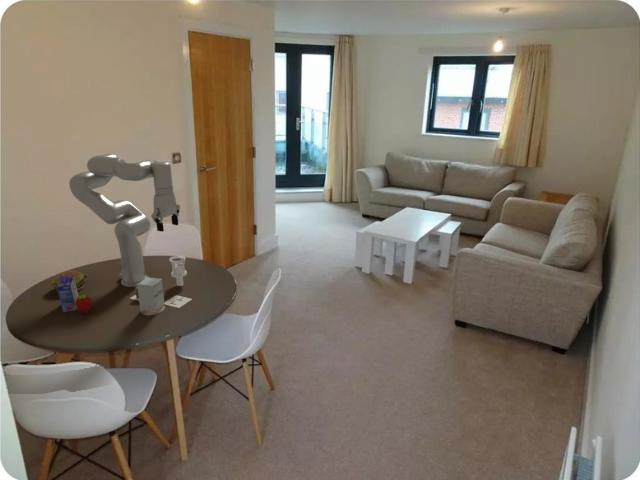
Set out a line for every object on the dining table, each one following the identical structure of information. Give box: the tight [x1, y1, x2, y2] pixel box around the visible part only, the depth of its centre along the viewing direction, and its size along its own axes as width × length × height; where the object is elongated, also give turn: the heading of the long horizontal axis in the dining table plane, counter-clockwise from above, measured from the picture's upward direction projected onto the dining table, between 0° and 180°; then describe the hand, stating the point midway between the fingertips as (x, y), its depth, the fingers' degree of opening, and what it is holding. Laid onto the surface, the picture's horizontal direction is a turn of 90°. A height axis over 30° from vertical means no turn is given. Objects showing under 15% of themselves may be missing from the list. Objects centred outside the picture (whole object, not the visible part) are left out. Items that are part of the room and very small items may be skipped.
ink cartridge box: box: [57, 275, 79, 313], centre depth 186 cm, size 10×6×14 cm, turn 22°
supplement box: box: [137, 276, 166, 313], centre depth 185 cm, size 7×7×13 cm
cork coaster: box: [139, 305, 166, 316], centre depth 187 cm, size 10×10×1 cm
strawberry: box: [75, 292, 92, 314], centre depth 181 cm, size 6×8×10 cm
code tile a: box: [164, 294, 193, 309], centre depth 194 cm, size 9×9×1 cm
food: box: [51, 270, 87, 292], centre depth 203 cm, size 14×14×8 cm
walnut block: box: [134, 287, 139, 298], centre depth 197 cm, size 5×5×5 cm
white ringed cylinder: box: [169, 255, 188, 287], centre depth 207 cm, size 7×7×15 cm
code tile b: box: [129, 294, 139, 302], centre depth 198 cm, size 9×9×1 cm
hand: (168, 227), depth 195 cm, fingers open, 9 cm apart
